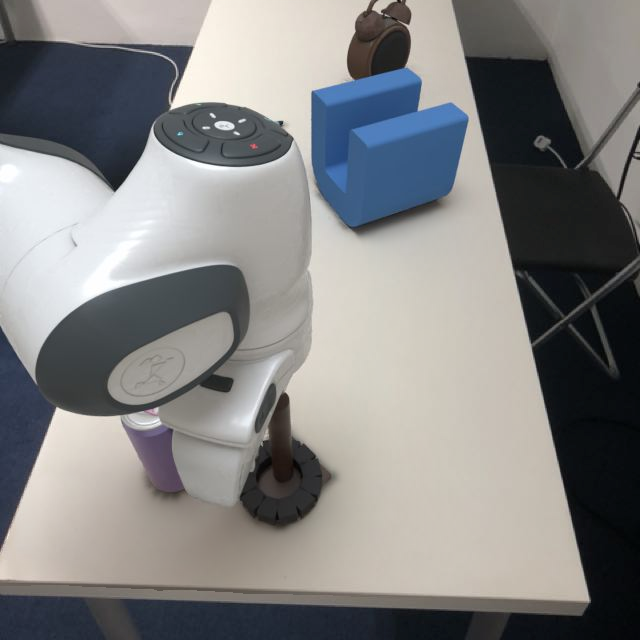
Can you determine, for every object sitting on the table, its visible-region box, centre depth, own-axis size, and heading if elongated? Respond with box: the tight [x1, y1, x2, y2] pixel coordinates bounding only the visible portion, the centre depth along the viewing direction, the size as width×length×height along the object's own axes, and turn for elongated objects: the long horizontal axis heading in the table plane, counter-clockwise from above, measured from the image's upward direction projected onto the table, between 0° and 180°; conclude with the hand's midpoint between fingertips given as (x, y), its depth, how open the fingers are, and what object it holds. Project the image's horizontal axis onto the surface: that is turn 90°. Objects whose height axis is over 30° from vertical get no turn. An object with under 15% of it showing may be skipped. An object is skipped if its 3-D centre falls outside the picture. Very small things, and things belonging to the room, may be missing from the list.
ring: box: [239, 439, 323, 526], centre depth 65 cm, size 10×10×2 cm
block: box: [310, 67, 470, 228], centre depth 96 cm, size 18×18×18 cm
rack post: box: [257, 391, 332, 522], centre depth 61 cm, size 8×8×17 cm
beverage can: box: [120, 407, 185, 493], centre depth 62 cm, size 6×6×15 cm
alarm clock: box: [346, 0, 413, 81], centre depth 120 cm, size 15×7×20 cm, turn 132°
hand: (263, 423), depth 51 cm, fingers open, 7 cm apart
